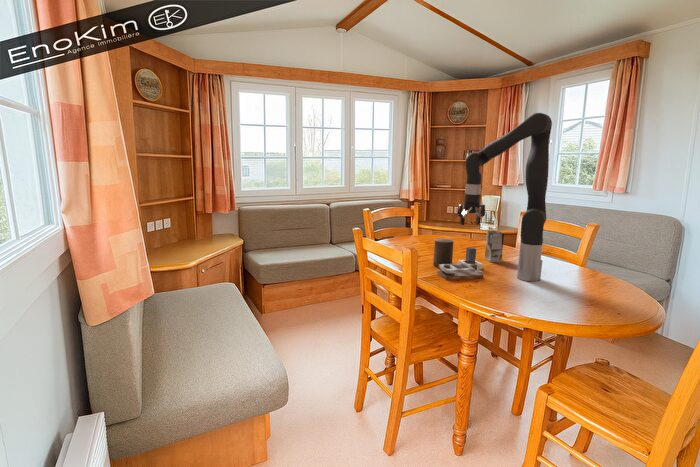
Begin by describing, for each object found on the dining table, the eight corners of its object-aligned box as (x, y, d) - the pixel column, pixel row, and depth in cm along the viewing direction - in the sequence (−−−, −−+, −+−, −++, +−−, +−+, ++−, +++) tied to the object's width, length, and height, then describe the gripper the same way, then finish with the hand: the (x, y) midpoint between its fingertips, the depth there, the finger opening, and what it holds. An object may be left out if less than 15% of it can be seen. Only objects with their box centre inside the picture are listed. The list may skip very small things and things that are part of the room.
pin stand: (473, 263, 200) (474, 259, 199) (482, 268, 191) (482, 264, 191) (457, 264, 198) (458, 260, 198) (465, 269, 190) (466, 264, 189)
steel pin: (471, 265, 197) (472, 247, 195) (474, 267, 193) (476, 248, 191) (465, 265, 196) (466, 247, 194) (468, 267, 193) (469, 249, 191)
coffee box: (501, 262, 203) (504, 233, 200) (490, 262, 203) (492, 233, 200) (495, 258, 212) (498, 230, 209) (484, 257, 212) (486, 230, 209)
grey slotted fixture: (472, 271, 187) (473, 260, 185) (483, 277, 177) (484, 266, 176) (437, 273, 183) (437, 262, 182) (445, 279, 174) (446, 268, 173)
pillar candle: (447, 269, 190) (449, 240, 187) (429, 265, 196) (431, 237, 193) (454, 265, 197) (456, 237, 195) (437, 262, 203) (439, 235, 200)
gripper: (463, 194, 182) (461, 226, 186) (489, 193, 185) (486, 225, 189) (456, 192, 190) (453, 223, 193) (481, 192, 193) (478, 223, 196)
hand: (470, 224), depth 191 cm, fingers open, 8 cm apart
